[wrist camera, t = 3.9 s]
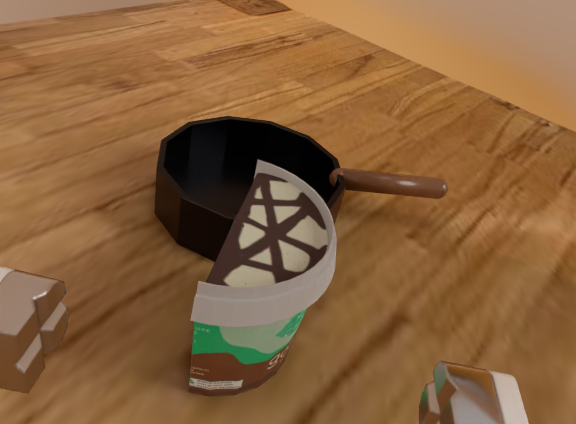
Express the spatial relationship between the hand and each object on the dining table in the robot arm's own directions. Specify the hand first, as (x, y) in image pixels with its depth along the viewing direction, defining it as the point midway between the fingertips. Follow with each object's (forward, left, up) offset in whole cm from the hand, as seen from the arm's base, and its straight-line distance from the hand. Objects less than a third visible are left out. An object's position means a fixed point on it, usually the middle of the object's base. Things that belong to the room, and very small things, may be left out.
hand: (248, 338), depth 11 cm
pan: (+1, +30, -18) cm, 35 cm away
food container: (0, +14, -18) cm, 23 cm away
